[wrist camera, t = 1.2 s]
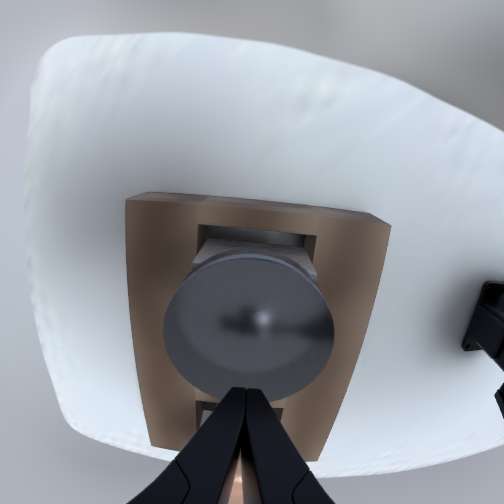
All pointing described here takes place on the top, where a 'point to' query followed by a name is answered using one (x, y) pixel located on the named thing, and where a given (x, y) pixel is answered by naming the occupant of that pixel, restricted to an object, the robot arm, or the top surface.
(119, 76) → the top surface
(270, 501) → the robot arm
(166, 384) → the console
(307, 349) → the charcoal plunger
